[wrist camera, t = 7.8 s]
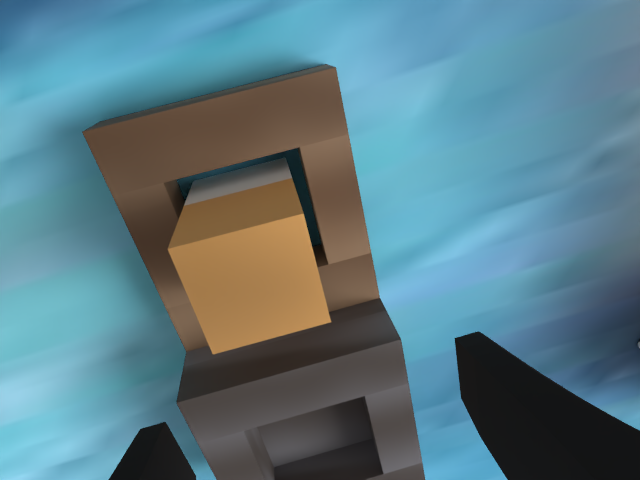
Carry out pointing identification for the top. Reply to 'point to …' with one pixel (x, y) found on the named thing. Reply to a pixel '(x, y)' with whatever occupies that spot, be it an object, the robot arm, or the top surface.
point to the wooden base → (291, 349)
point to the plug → (248, 257)
